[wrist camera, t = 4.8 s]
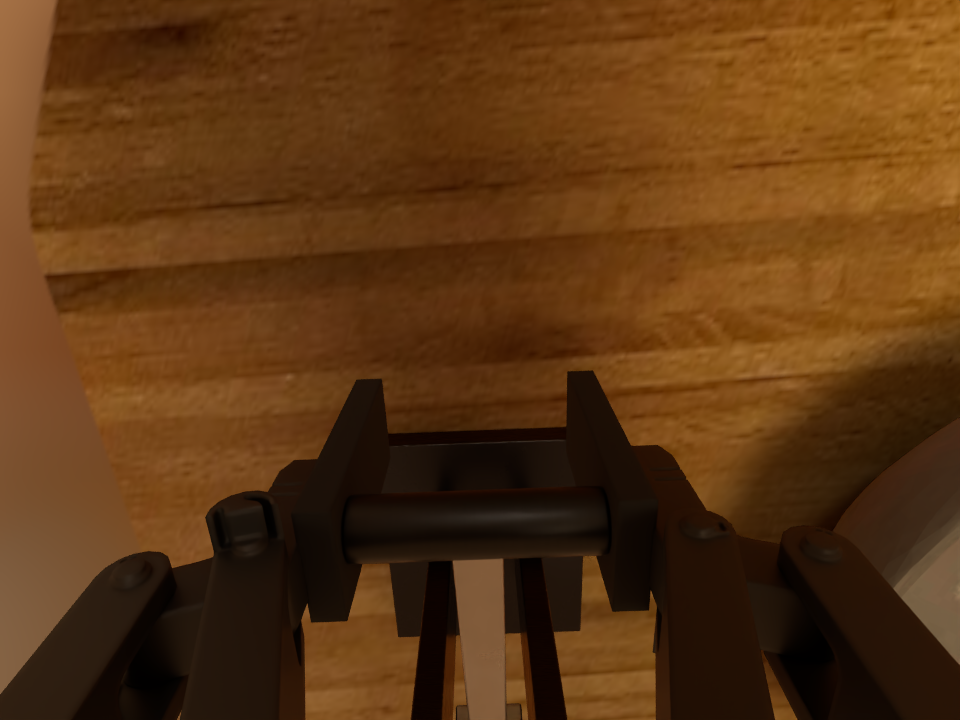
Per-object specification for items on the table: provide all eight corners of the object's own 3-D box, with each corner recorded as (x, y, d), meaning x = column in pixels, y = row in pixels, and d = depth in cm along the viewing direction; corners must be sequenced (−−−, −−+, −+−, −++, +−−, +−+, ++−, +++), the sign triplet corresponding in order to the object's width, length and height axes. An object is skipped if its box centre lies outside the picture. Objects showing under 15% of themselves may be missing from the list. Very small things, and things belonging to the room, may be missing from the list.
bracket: (379, 434, 28) (298, 685, 15) (582, 426, 28) (673, 672, 15) (400, 620, 32) (351, 937, 20) (576, 614, 32) (643, 928, 20)
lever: (353, 465, 13) (332, 555, 11) (596, 455, 13) (620, 545, 11) (415, 743, 21) (409, 824, 19) (565, 738, 21) (576, 818, 19)
